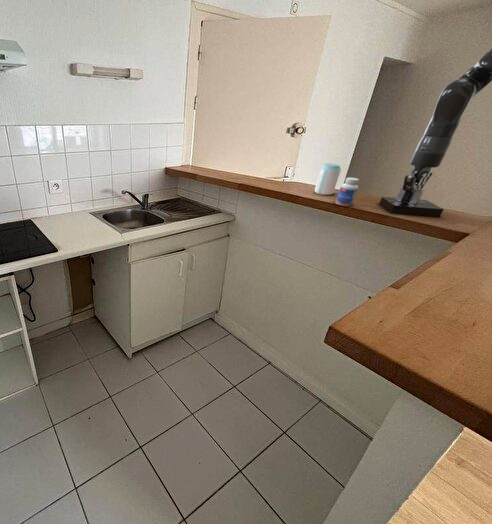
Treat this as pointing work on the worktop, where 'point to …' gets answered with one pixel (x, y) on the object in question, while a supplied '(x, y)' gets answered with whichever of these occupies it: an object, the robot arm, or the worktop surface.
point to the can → (327, 179)
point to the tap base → (411, 207)
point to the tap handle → (414, 198)
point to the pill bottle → (347, 192)
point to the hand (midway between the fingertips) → (406, 201)
